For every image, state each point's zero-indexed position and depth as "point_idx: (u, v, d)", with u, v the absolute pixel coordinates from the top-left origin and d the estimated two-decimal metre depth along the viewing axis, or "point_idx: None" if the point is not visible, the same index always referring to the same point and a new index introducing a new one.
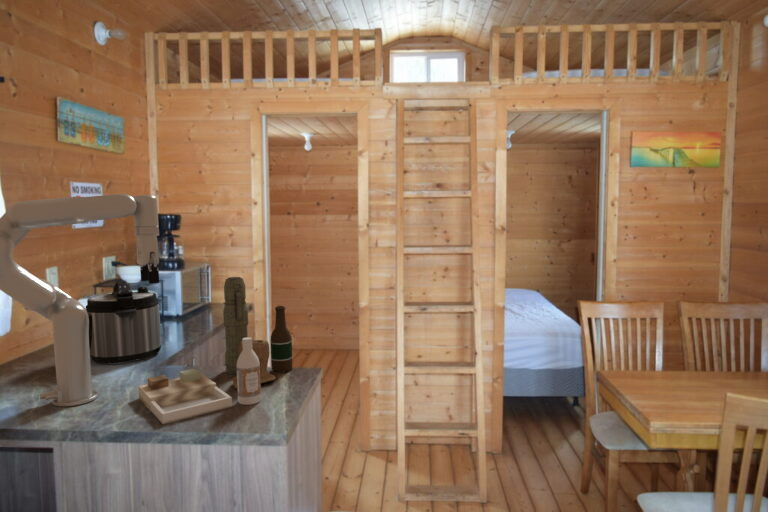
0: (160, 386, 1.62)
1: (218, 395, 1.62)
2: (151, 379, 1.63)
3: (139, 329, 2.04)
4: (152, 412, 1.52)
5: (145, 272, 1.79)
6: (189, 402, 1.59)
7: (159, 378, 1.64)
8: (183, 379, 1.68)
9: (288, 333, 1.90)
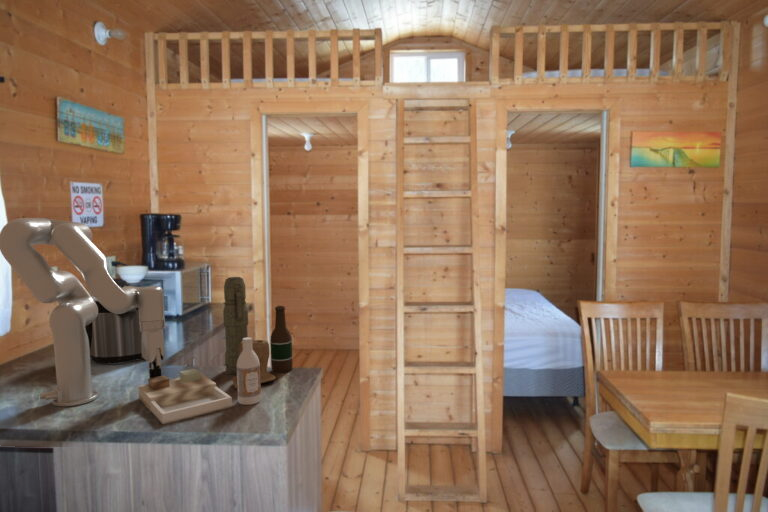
0: (161, 387, 1.62)
1: (218, 395, 1.62)
2: (152, 380, 1.62)
3: (139, 329, 2.04)
4: (152, 412, 1.52)
5: None
6: (189, 402, 1.59)
7: (160, 379, 1.63)
8: (183, 379, 1.68)
9: (288, 333, 1.90)
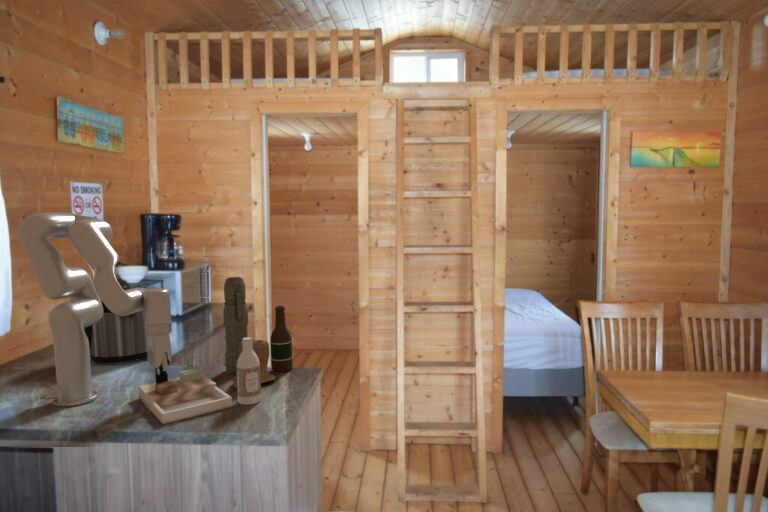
0: (169, 392, 1.56)
1: (218, 395, 1.62)
2: (159, 385, 1.57)
3: (139, 329, 2.04)
4: (152, 412, 1.52)
5: None
6: (189, 402, 1.59)
7: (167, 384, 1.58)
8: (183, 379, 1.68)
9: (288, 333, 1.90)
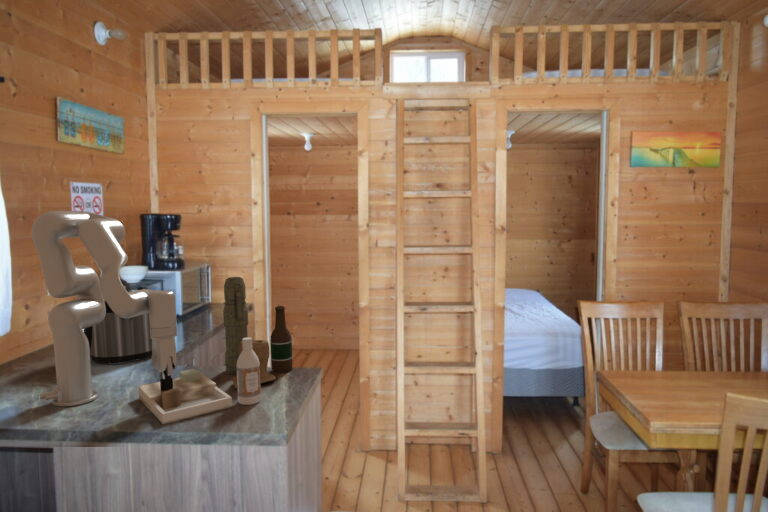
0: None
1: (218, 395, 1.62)
2: (165, 401, 1.53)
3: (139, 329, 2.04)
4: (152, 412, 1.52)
5: None
6: (189, 402, 1.59)
7: (173, 401, 1.55)
8: (183, 379, 1.68)
9: (288, 333, 1.90)
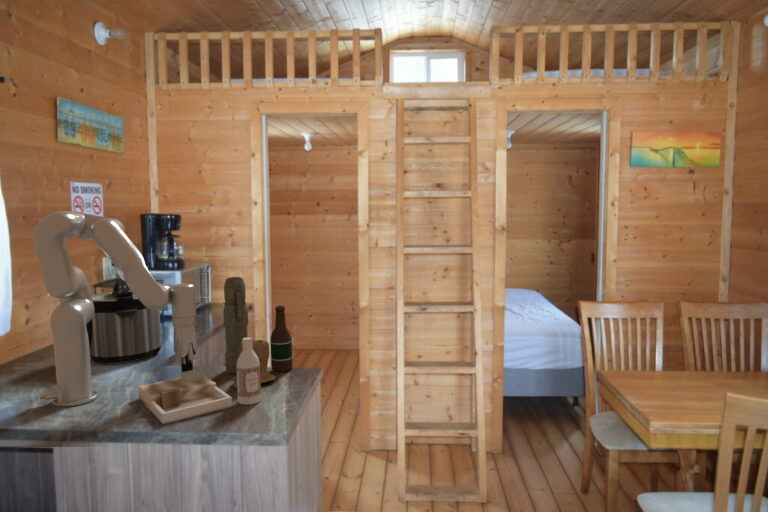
0: None
1: (218, 395, 1.62)
2: (165, 401, 1.53)
3: (139, 329, 2.04)
4: (152, 412, 1.52)
5: None
6: (189, 402, 1.59)
7: (173, 401, 1.55)
8: (184, 380, 1.67)
9: (288, 333, 1.90)
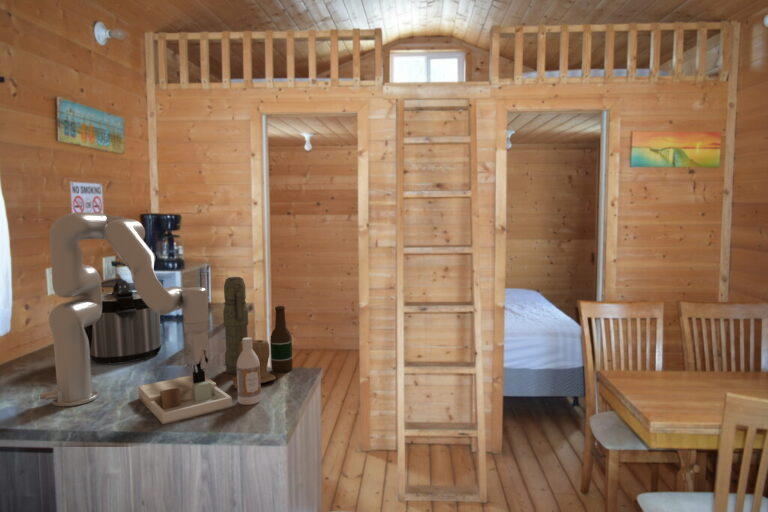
0: None
1: (218, 395, 1.62)
2: (165, 401, 1.53)
3: (139, 329, 2.04)
4: (152, 412, 1.52)
5: None
6: (189, 402, 1.59)
7: (173, 401, 1.55)
8: (193, 396, 1.60)
9: (288, 333, 1.90)
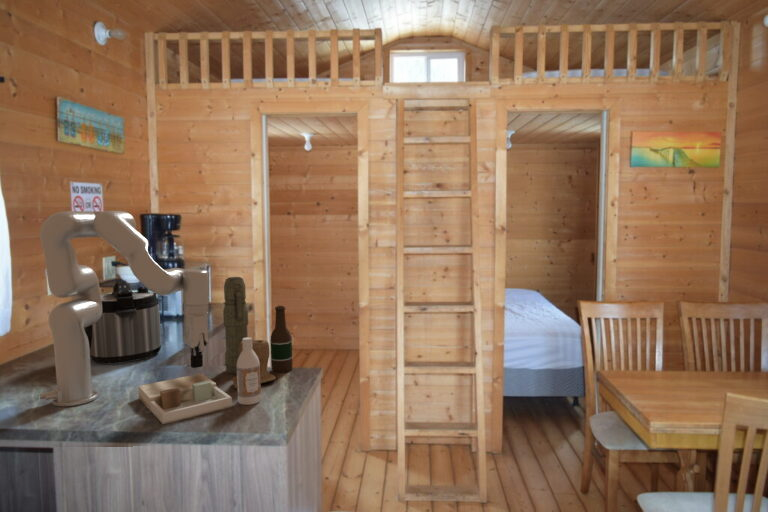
0: None
1: (218, 395, 1.62)
2: (165, 401, 1.53)
3: (139, 329, 2.04)
4: (152, 412, 1.52)
5: None
6: (189, 402, 1.59)
7: (173, 401, 1.55)
8: (193, 396, 1.60)
9: (288, 333, 1.90)
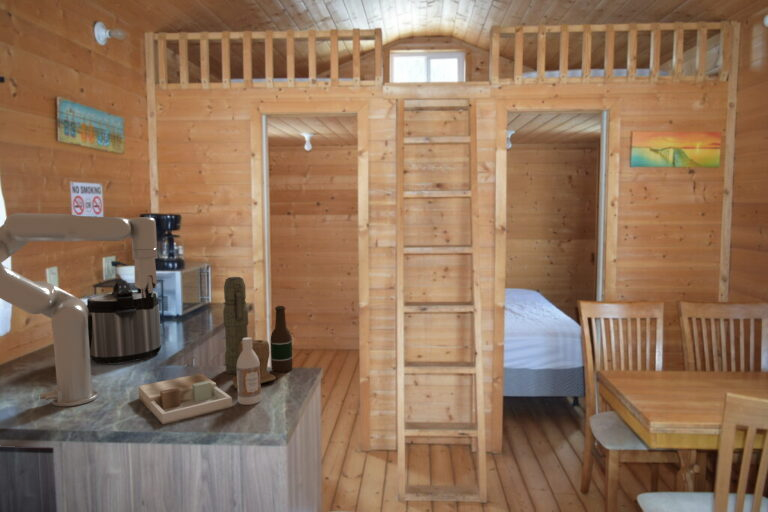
0: None
1: (218, 395, 1.62)
2: (165, 401, 1.53)
3: (139, 329, 2.04)
4: (152, 412, 1.52)
5: None
6: (189, 402, 1.59)
7: (173, 401, 1.55)
8: (193, 396, 1.60)
9: (288, 333, 1.90)
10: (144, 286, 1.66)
